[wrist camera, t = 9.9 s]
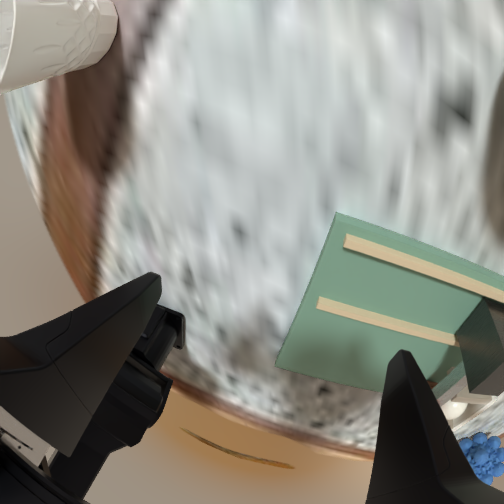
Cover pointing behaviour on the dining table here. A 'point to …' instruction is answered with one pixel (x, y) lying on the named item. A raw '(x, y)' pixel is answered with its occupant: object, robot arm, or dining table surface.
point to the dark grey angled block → (477, 355)
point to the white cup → (52, 38)
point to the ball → (453, 409)
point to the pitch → (383, 306)
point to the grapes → (484, 456)
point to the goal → (469, 405)
